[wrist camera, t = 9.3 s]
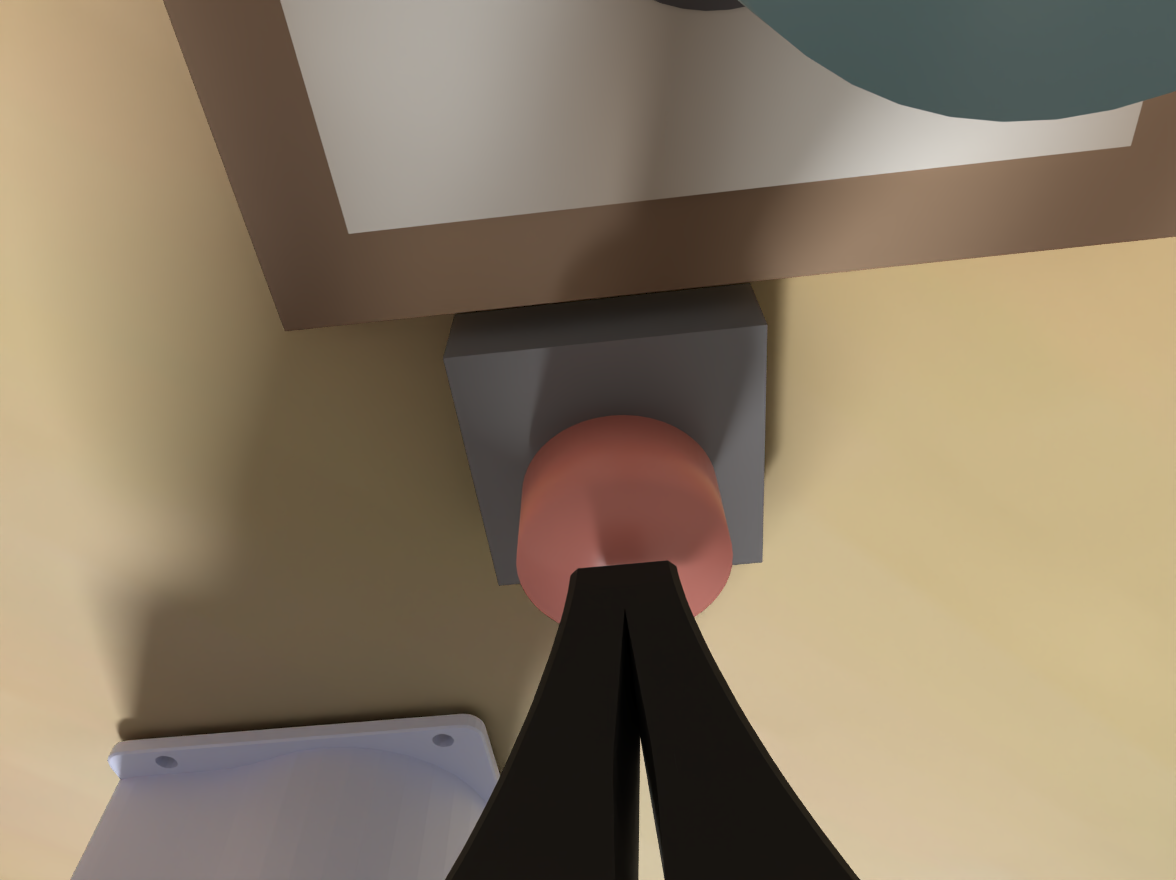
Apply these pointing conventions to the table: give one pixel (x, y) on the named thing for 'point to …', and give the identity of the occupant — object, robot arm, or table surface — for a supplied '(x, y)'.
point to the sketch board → (615, 156)
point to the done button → (621, 509)
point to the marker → (989, 52)
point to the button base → (613, 393)
